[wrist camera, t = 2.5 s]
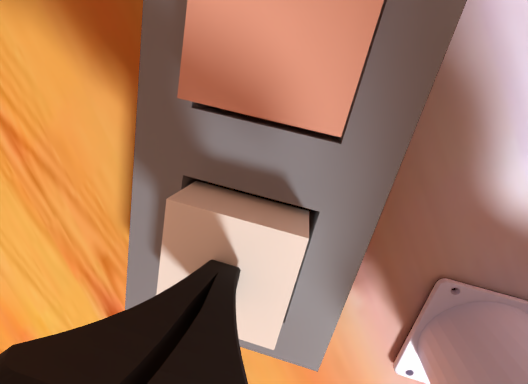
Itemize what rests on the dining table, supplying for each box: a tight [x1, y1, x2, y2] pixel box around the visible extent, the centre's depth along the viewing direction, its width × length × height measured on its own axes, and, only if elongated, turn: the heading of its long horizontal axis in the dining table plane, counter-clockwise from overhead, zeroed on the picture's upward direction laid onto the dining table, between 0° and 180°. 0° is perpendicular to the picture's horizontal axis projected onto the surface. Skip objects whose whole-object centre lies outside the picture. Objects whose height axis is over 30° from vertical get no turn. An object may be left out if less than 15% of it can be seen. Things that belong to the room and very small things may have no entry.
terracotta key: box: [177, 0, 384, 137], centre depth 10 cm, size 6×6×3 cm
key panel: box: [125, 0, 467, 372], centre depth 14 cm, size 12×22×4 cm, turn 168°
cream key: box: [156, 181, 309, 350], centre depth 13 cm, size 6×6×3 cm
